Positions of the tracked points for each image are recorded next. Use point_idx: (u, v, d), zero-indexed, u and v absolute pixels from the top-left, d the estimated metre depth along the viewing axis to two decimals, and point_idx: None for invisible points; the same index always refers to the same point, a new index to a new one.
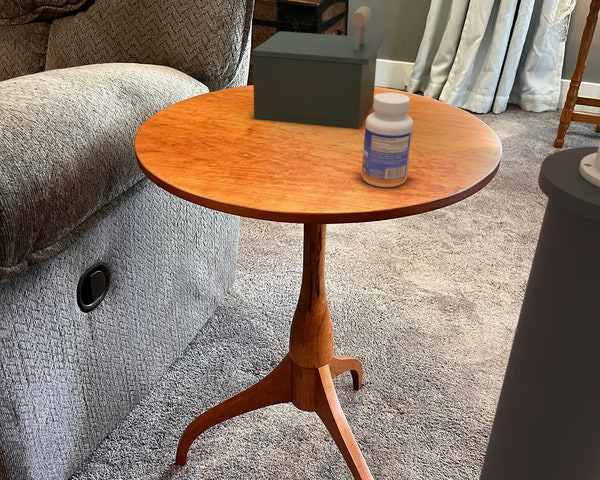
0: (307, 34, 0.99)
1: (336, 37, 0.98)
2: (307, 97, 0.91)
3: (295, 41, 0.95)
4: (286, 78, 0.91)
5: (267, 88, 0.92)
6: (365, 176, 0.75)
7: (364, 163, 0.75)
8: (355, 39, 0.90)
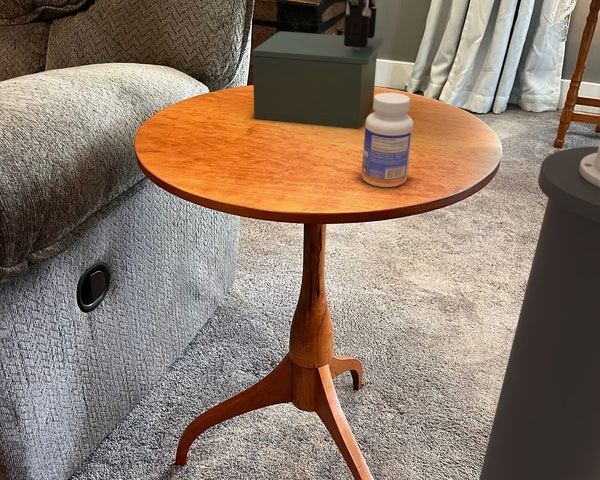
0: (307, 34, 0.99)
1: (336, 37, 0.98)
2: (307, 97, 0.91)
3: (295, 41, 0.95)
4: (286, 78, 0.91)
5: (267, 88, 0.92)
6: (365, 176, 0.75)
7: (364, 163, 0.75)
8: None
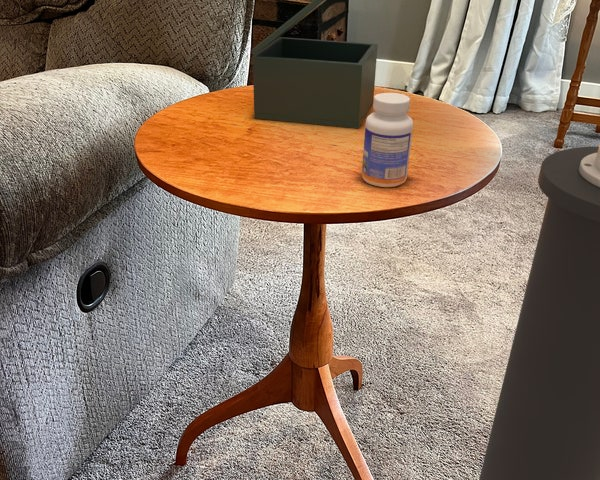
0: None
1: None
2: (307, 97, 0.91)
3: None
4: (286, 78, 0.91)
5: (267, 88, 0.92)
6: (365, 176, 0.75)
7: (364, 163, 0.75)
8: None
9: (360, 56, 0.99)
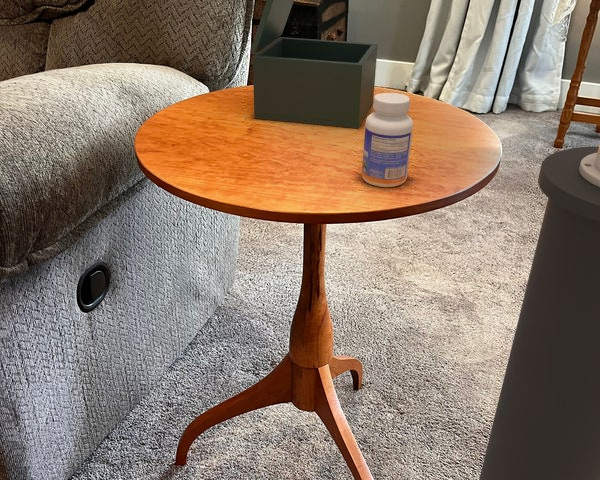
0: None
1: None
2: (307, 97, 0.91)
3: None
4: (286, 78, 0.91)
5: (267, 88, 0.92)
6: (365, 176, 0.75)
7: (364, 163, 0.75)
8: None
9: (360, 56, 0.99)
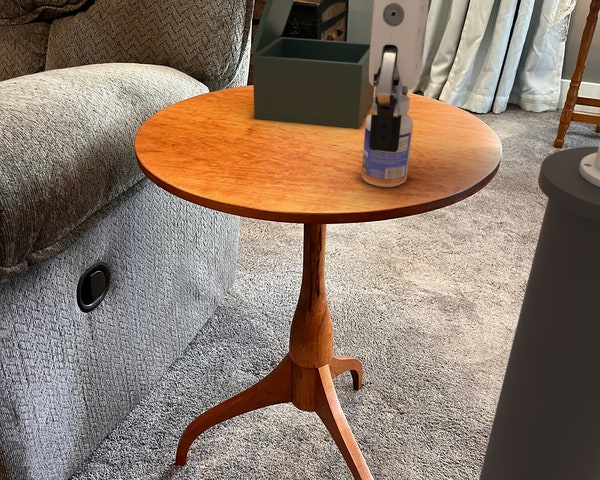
0: None
1: None
2: (307, 97, 0.91)
3: None
4: (286, 78, 0.91)
5: (267, 88, 0.92)
6: (365, 176, 0.75)
7: (364, 163, 0.75)
8: None
9: (360, 56, 0.99)
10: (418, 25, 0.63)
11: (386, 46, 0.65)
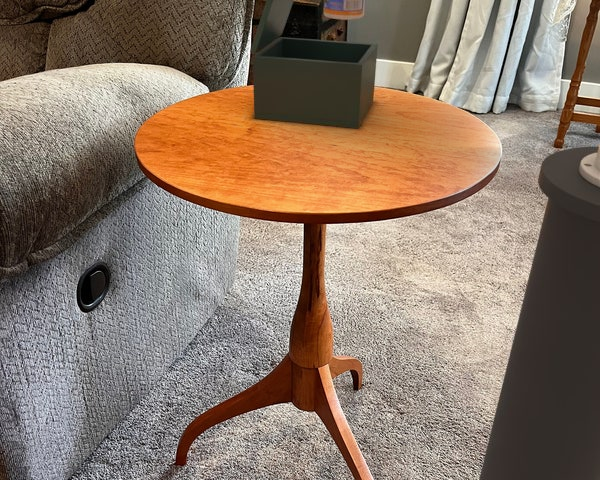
0: None
1: None
2: (307, 97, 0.91)
3: None
4: (286, 78, 0.91)
5: (267, 88, 0.92)
6: (326, 10, 0.83)
7: None
8: None
9: (360, 56, 0.99)
10: None
11: None
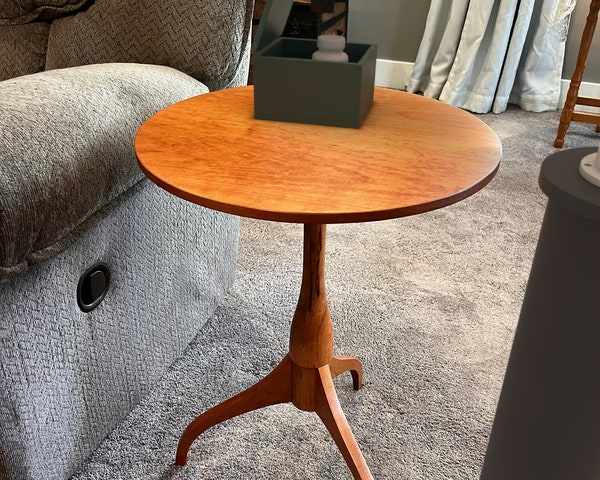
0: None
1: None
2: (307, 97, 0.91)
3: None
4: (286, 78, 0.91)
5: (267, 88, 0.92)
6: None
7: None
8: None
9: (360, 56, 0.99)
10: None
11: None
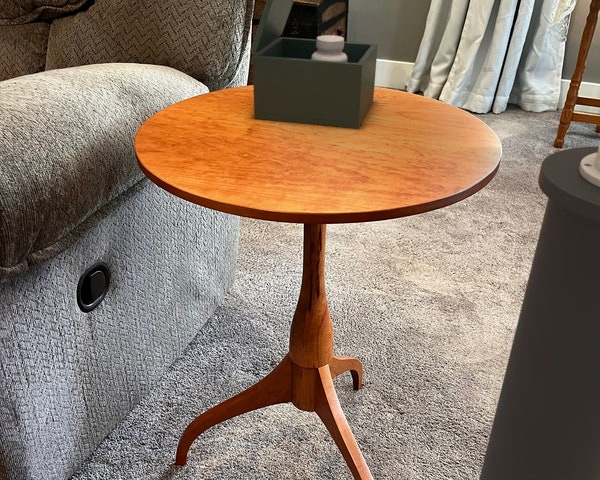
0: None
1: None
2: (307, 97, 0.91)
3: None
4: (286, 78, 0.91)
5: (267, 88, 0.92)
6: None
7: None
8: None
9: (360, 56, 0.99)
10: None
11: None
